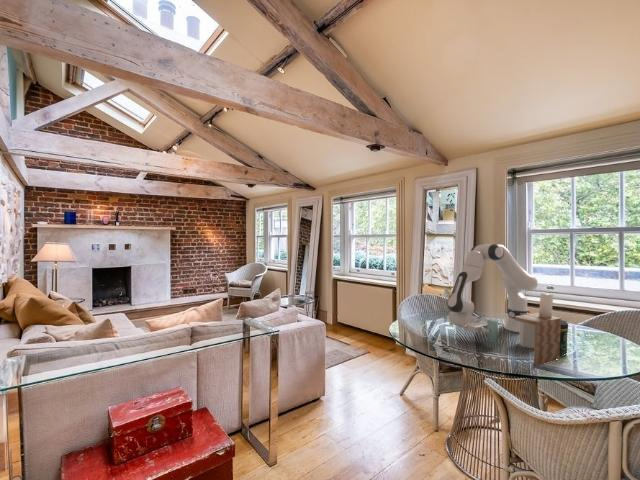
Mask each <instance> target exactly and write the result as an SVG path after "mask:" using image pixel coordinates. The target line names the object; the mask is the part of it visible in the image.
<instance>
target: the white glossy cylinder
mask: <svg viewBox="0 0 640 480" xmlns="http://www.w3.org/2000/svg"><path fill="white" fill-rule="evenodd" d="M539 301H540V302H539V312H538V313H539V316H541V317H545V318H551V317H552V316H553V315H552V314H553V305H554V304H553V302H554V294H551V293H545V292H541V293H540V299H539Z"/></svg>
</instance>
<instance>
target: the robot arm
mask: <svg viewBox="0 0 640 480" xmlns="http://www.w3.org/2000/svg"><path fill="white" fill-rule="evenodd" d="M490 261H494V263H495V265H496V266H497V268H499V270H500V272H501V273H502V274H501V276H500V283H501V284H502V285H503V287H504V289H505V290H506V294H507V309H506V314H505V319H504V323H503V325H502V327H504V329H505V330H507V331H510V332H515V333H519V334H520V321H516V320H514V319H515V316H520V315H526V314H527V313H529V314H532V311H531V310H530V309H528V298H527V296H526V295H525V294H524V292H523V291H525V292H533V291H535V290H536V289H537V287H538V285H539V282H538V279H537V278H536V277H535V276H533V275H531V274H530V273H529V272H527V271H526V270H525V269H524V268H522V266H521V265H520V264H519V263H518V262H517V261H516V259H515V257H514V256H513V255H512V253H511V252H510V250H508V248H507V247H505V245H503V244H501V243H500V244H498V243H497V244H496V243H493V244H492V243H485V244H477V245H474V246H472V248H471V249H470V251H469V252H468V253H467V255H466V257H465V260H464V264H463V267H462V270H461V272H460V273H459V274H458V275H457V277H456V280H455V282H454V286H453V288H452V291H451V294H450V295H449V296H448V299H447V301H446V305H447V308H448V310H449V311H450V312H449V313H448V320H449V322H450V323H451V324H452V325H454V326H456V327H459V328H463V329H465V330H466V331H468V332H470V333H474V334H477V333H482V332H484V333H487V332H488V333H489V332H491V329H487V320H488V319H489V318H485V317H484V316H483V317H482V316H475V315H474V312H475V304H474V302H473V301H472V300H469V299H467V298H463V293H464V290H465V288H466V285H467V284H469V283H470V282H474V281H475V282H476V281H477V280H479V279H480V278H481V276H482V273H483V268H484V262H490Z"/></svg>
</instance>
